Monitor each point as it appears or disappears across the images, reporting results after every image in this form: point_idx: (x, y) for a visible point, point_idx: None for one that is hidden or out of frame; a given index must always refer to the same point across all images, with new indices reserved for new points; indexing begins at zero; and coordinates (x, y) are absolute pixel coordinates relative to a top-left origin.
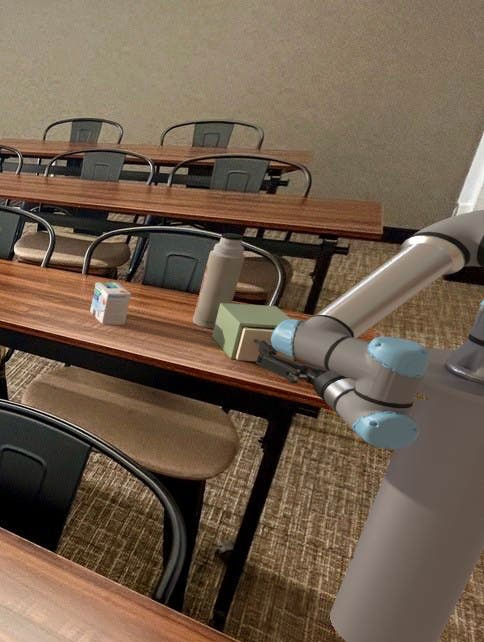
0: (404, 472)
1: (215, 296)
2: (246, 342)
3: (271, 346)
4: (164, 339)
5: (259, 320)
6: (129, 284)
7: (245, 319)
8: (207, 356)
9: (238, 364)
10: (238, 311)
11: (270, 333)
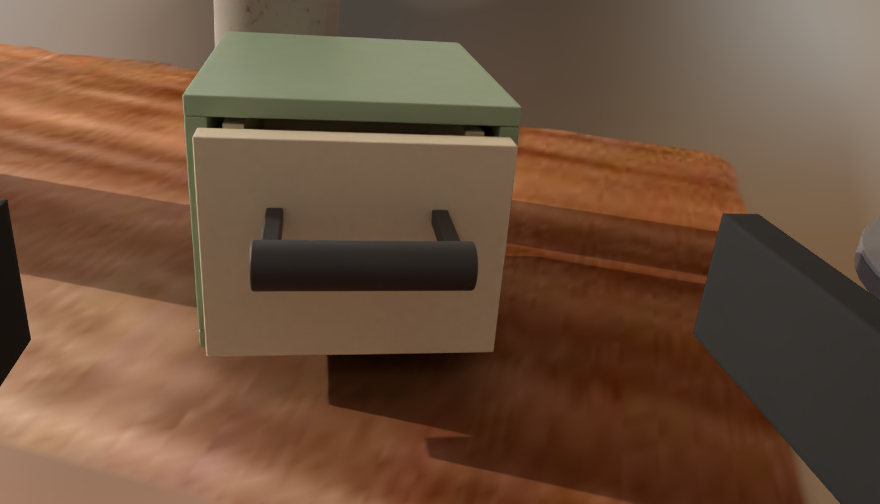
0: None
1: (250, 20)
2: (226, 234)
3: (318, 253)
4: (17, 246)
5: (323, 83)
6: (173, 68)
7: (247, 79)
8: (126, 333)
9: (251, 374)
10: (264, 53)
11: (349, 156)
